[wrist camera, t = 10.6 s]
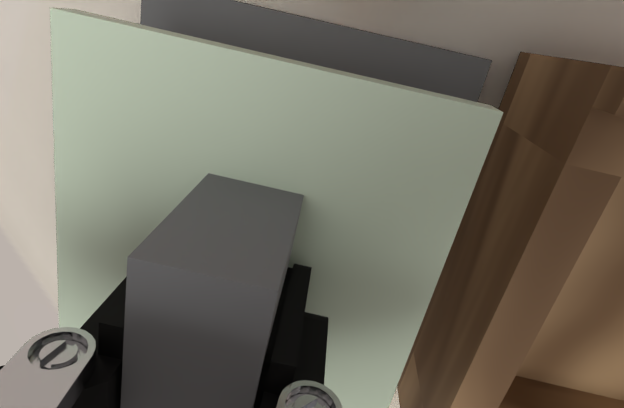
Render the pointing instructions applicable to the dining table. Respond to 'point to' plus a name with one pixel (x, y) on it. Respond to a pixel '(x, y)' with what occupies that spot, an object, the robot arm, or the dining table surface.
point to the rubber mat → (321, 44)
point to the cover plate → (273, 137)
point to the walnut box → (535, 255)
